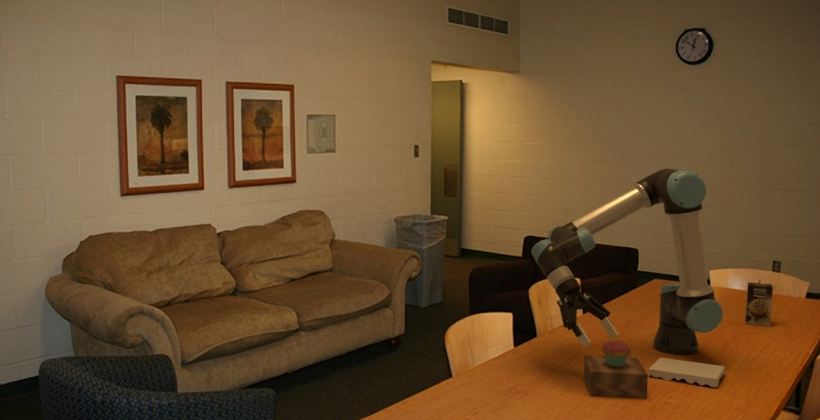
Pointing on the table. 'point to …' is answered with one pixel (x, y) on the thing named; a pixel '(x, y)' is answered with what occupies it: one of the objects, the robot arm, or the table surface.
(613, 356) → the cupcake
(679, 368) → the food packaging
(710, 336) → the table surface
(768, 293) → the cookie box
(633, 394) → the riser
